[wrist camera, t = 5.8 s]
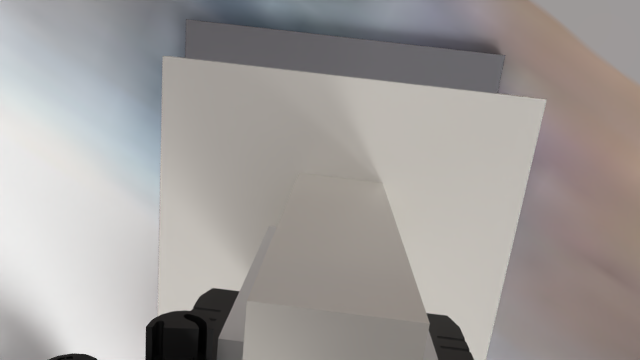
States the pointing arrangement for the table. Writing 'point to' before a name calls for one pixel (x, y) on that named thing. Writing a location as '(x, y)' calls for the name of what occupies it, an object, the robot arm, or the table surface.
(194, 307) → the robot arm
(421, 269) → the lid
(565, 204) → the table surface
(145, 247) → the table surface
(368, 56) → the mat
